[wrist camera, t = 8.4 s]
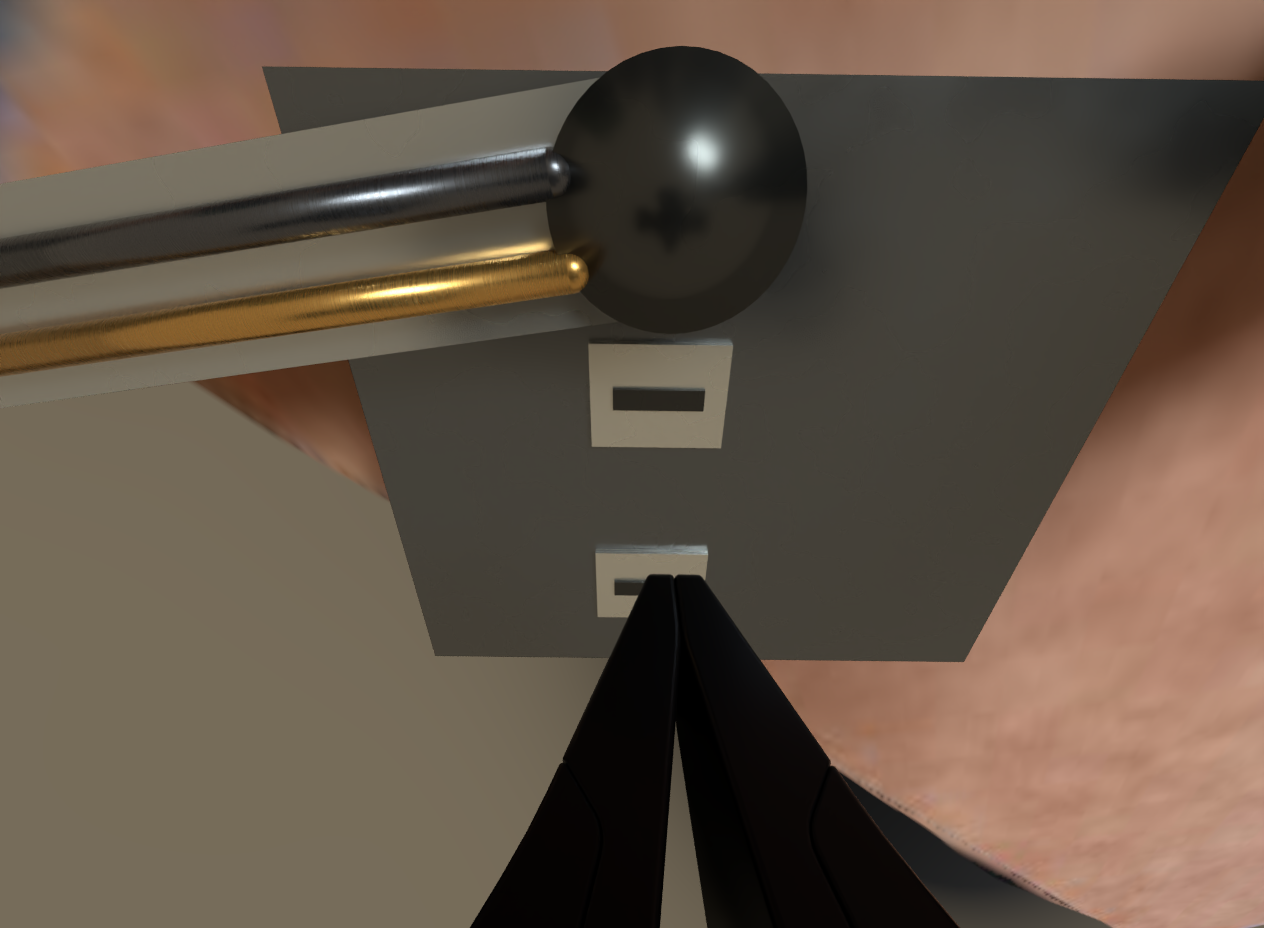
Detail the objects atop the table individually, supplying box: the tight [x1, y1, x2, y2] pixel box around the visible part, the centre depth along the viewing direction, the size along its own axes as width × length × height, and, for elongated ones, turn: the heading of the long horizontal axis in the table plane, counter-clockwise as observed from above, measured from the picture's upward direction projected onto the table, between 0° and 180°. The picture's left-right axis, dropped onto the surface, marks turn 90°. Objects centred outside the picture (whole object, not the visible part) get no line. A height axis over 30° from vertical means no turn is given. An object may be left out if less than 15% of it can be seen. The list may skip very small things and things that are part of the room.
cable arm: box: [0, 46, 807, 408], centre depth 11 cm, size 4×18×3 cm, turn 98°
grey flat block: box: [262, 67, 1264, 662], centre depth 17 cm, size 20×18×4 cm
